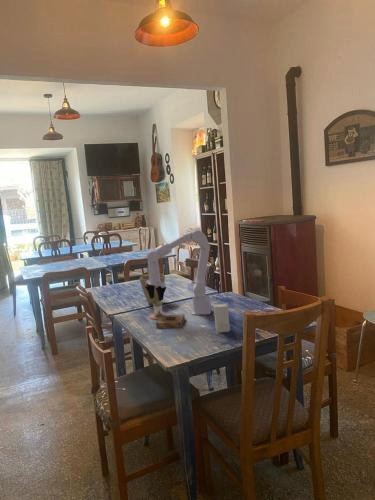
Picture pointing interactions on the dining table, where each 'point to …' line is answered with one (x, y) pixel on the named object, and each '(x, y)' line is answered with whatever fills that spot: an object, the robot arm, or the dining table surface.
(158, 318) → the dish
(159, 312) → the end cover
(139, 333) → the dining table surface
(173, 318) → the housing
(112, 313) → the dining table surface
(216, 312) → the skincare box
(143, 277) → the plant pot
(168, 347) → the dining table surface
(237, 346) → the dining table surface
